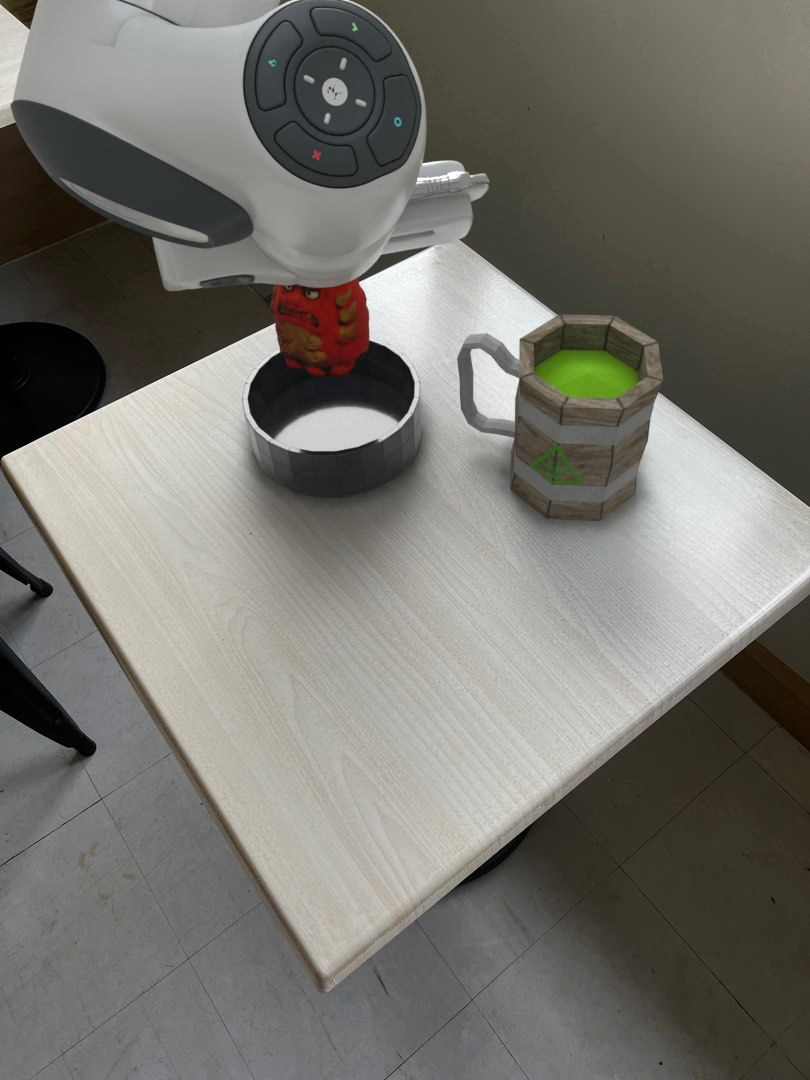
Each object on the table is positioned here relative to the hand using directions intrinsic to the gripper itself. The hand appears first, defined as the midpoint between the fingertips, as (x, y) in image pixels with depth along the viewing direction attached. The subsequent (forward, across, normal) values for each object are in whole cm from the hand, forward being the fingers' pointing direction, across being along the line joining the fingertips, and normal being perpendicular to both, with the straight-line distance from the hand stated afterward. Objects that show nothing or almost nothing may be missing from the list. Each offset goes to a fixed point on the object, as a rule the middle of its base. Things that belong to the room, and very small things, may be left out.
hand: (311, 254), depth 63 cm
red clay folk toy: (+6, 0, +7) cm, 9 cm away
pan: (+12, 0, +13) cm, 17 cm away
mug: (+6, -16, +19) cm, 25 cm away
